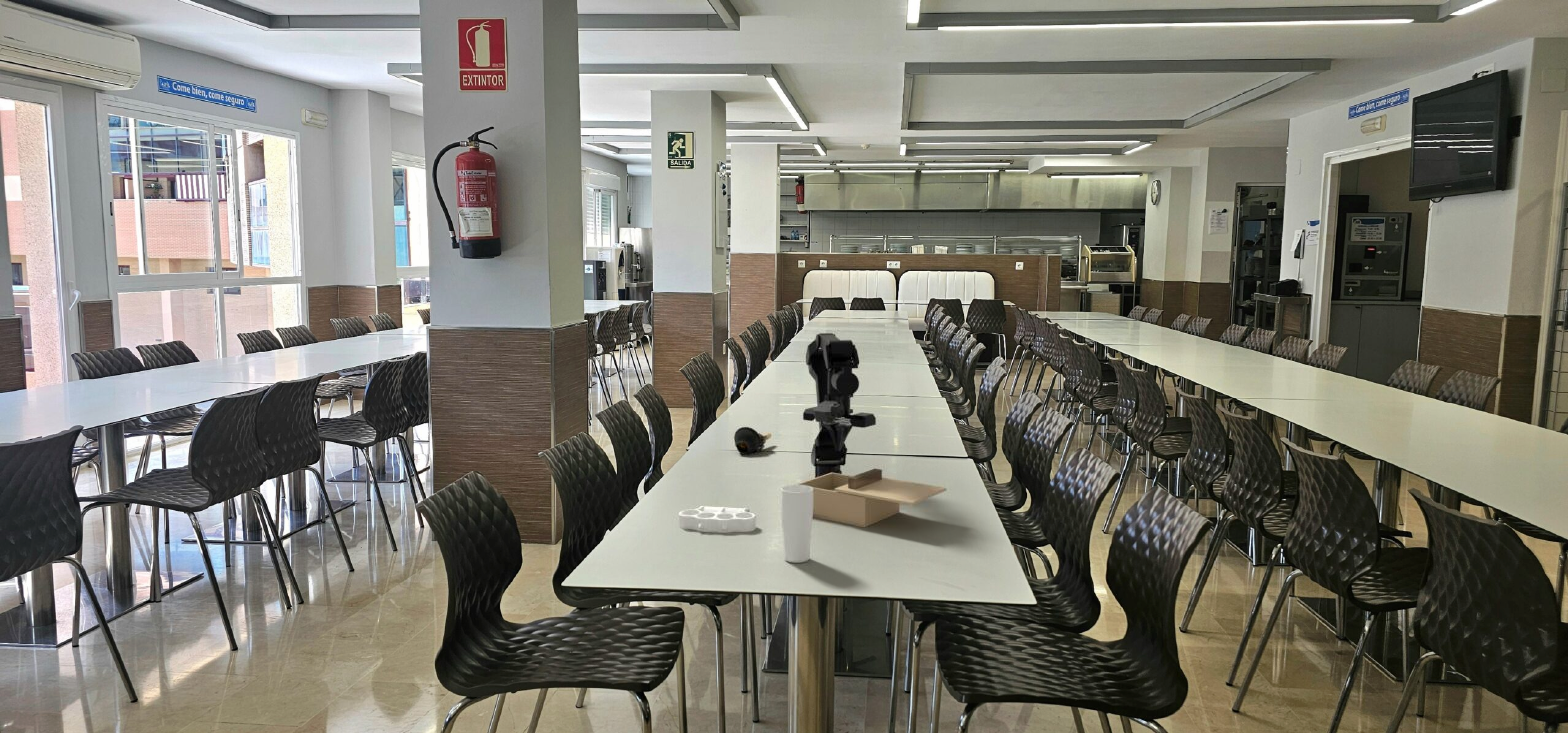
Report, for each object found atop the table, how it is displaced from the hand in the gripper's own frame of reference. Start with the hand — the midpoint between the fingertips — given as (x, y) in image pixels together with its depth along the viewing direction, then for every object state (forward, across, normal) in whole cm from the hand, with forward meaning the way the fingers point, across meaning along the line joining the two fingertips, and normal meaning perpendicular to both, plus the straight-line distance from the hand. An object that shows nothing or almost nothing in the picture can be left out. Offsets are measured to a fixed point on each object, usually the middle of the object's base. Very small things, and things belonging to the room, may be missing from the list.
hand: (838, 450), depth 236 cm
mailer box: (+13, +8, -8) cm, 17 cm away
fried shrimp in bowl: (+13, -55, +35) cm, 67 cm away
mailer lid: (+6, +20, -8) cm, 22 cm away
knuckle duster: (+14, -10, -35) cm, 39 cm away
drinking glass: (+13, +19, -44) cm, 50 cm away
